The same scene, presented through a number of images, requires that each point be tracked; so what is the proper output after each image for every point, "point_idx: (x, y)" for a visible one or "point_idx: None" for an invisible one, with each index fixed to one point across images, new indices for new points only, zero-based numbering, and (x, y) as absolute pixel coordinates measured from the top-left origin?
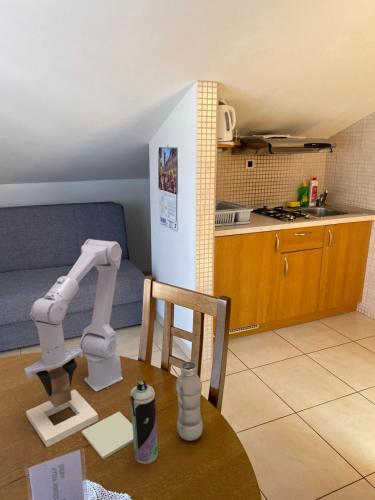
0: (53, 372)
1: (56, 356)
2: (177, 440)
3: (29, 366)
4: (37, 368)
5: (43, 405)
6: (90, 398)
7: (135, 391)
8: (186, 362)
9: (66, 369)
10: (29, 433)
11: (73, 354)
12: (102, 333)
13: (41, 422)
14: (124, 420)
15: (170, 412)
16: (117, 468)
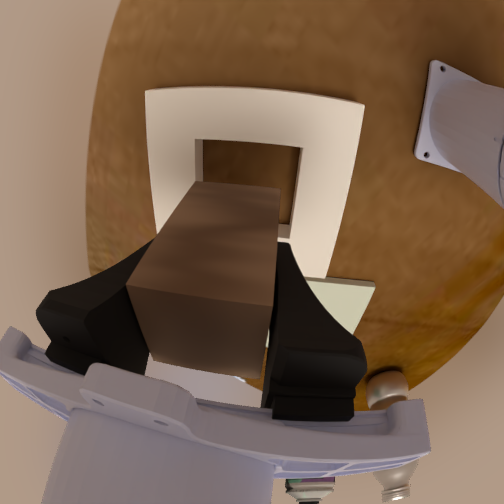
0: (184, 323)
1: None
2: (365, 374)
3: (4, 373)
4: (56, 414)
5: (208, 101)
6: (379, 164)
7: (296, 497)
8: (406, 495)
9: (266, 372)
10: (143, 167)
11: (321, 476)
12: None
13: (169, 186)
14: (355, 314)
15: (422, 338)
16: None
